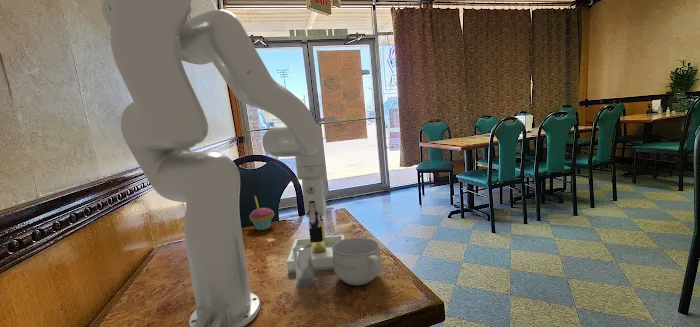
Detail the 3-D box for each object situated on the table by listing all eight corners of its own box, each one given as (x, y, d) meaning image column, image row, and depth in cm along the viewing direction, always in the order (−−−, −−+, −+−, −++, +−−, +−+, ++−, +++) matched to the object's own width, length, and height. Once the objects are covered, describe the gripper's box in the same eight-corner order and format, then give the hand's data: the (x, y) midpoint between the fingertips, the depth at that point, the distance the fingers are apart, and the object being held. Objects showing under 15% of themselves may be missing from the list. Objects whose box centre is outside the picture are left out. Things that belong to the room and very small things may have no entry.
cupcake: (245, 231, 105) (241, 198, 103) (260, 223, 113) (256, 191, 111) (267, 232, 102) (263, 198, 101) (280, 223, 110) (276, 191, 109)
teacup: (328, 273, 71) (325, 241, 70) (370, 262, 75) (368, 231, 74) (349, 305, 58) (346, 266, 57) (398, 290, 62) (396, 253, 61)
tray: (346, 267, 73) (345, 256, 73) (288, 273, 73) (286, 261, 72) (345, 244, 87) (344, 234, 87) (296, 249, 87) (295, 239, 86)
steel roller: (313, 285, 66) (309, 251, 65) (295, 287, 66) (291, 252, 65) (315, 276, 70) (311, 243, 69) (298, 278, 70) (294, 245, 69)
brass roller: (325, 252, 80) (323, 223, 79) (310, 254, 80) (307, 225, 79) (326, 247, 84) (324, 219, 83) (312, 248, 84) (309, 220, 83)
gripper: (323, 176, 71) (330, 249, 73) (327, 165, 88) (332, 225, 90) (291, 178, 71) (299, 252, 73) (301, 167, 88) (307, 227, 90)
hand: (317, 236), depth 82 cm, fingers open, 5 cm apart
